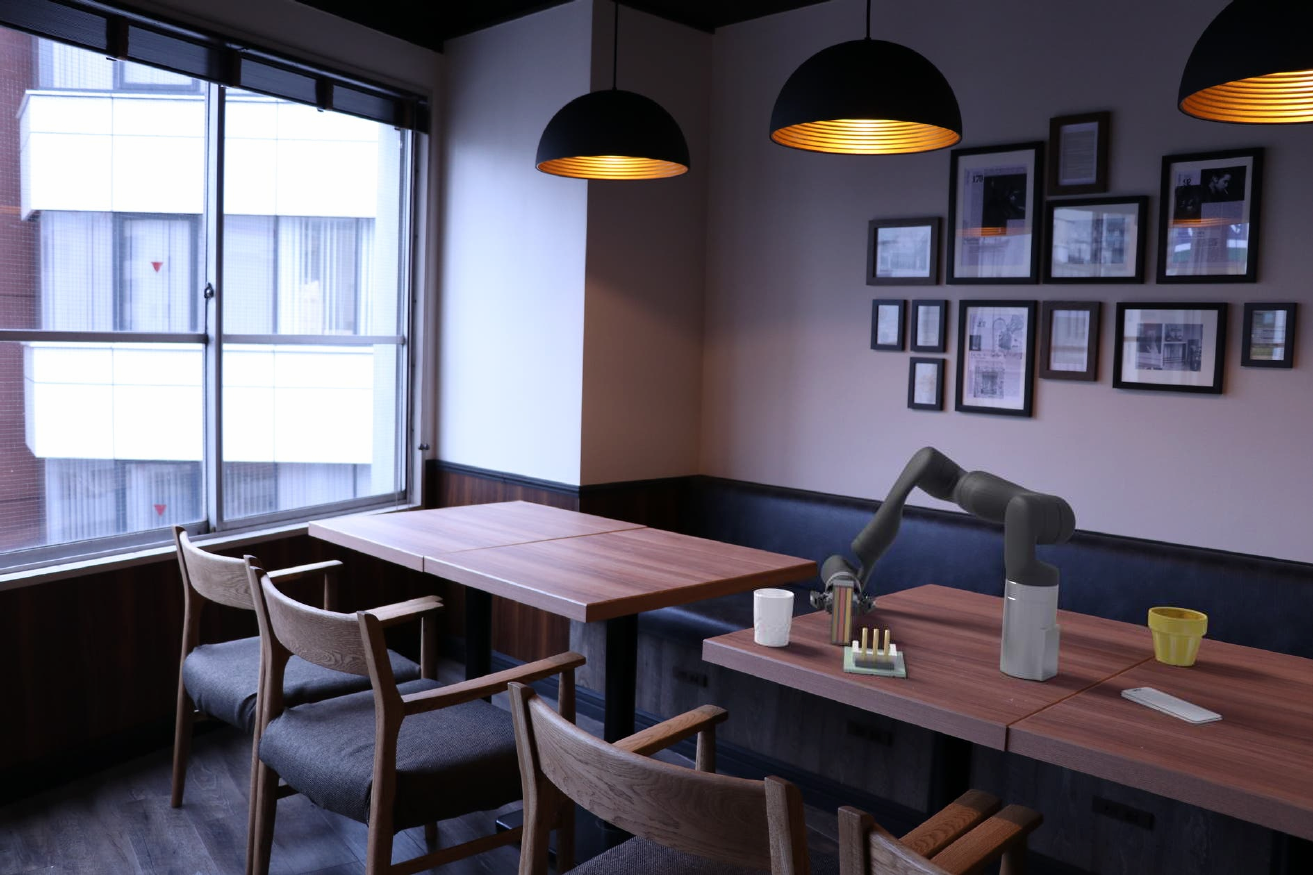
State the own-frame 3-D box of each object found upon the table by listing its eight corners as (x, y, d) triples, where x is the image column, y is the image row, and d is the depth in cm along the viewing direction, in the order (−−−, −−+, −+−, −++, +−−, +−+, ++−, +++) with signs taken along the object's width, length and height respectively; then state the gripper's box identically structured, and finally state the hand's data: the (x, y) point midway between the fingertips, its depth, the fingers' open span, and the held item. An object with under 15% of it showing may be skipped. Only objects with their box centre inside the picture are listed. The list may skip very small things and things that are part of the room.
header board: (844, 649, 203) (846, 611, 203) (901, 654, 201) (904, 616, 201) (843, 671, 189) (845, 630, 188) (905, 677, 187) (908, 636, 186)
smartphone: (1195, 721, 168) (1118, 690, 181) (1194, 728, 168) (1118, 696, 182) (1225, 716, 171) (1147, 686, 185) (1224, 723, 171) (1147, 692, 185)
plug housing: (830, 637, 212) (833, 579, 211) (850, 638, 211) (853, 581, 210) (830, 643, 207) (833, 584, 206) (850, 645, 206) (853, 586, 205)
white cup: (778, 650, 201) (781, 599, 200) (744, 642, 206) (746, 592, 205) (798, 642, 207) (801, 593, 206) (764, 634, 212) (767, 586, 211)
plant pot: (1143, 663, 202) (1147, 614, 201) (1146, 650, 211) (1150, 603, 210) (1203, 672, 197) (1208, 622, 196) (1203, 659, 206) (1207, 611, 206)
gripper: (810, 571, 224) (807, 588, 207) (877, 577, 221) (879, 594, 204) (808, 606, 224) (805, 625, 207) (875, 611, 222) (877, 632, 205)
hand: (842, 610), depth 206 cm, fingers closed on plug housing, 4 cm apart
